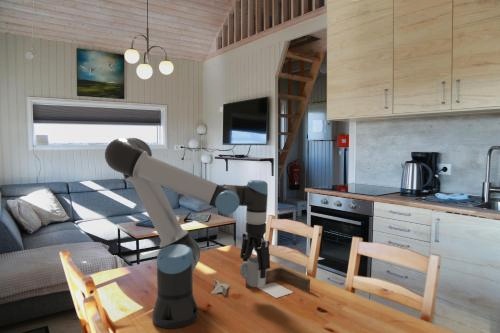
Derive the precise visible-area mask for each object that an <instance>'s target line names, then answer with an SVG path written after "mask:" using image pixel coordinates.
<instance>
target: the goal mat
mask: <svg viewBox="0 0 500 333" xmlns="http://www.w3.org/2000/svg"><path fill="white" fill-rule="evenodd" d="M256 288H257V289H259V290H261V291H262V292H264V293H266V294H267V295H270V296H271V297H273V298H274V299H278V298H281V297H284V296H287V295H290V294H293V293H294V291H292V290H291V289H288V288H286V287H284V286H282V285H280V284H278V283H277V282H275V281H273V282H271V283H270V282H269V283H266V284H265V285H264V286H262V287H256Z"/></svg>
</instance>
